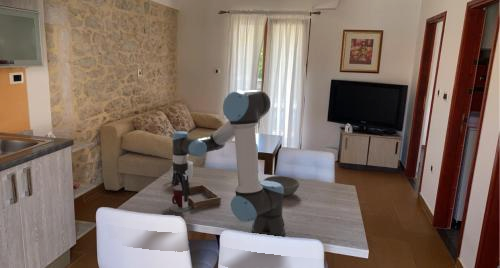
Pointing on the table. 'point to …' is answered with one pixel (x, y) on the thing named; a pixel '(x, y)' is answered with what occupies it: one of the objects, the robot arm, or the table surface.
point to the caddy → (204, 203)
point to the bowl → (285, 183)
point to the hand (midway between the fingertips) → (180, 202)
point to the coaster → (179, 208)
